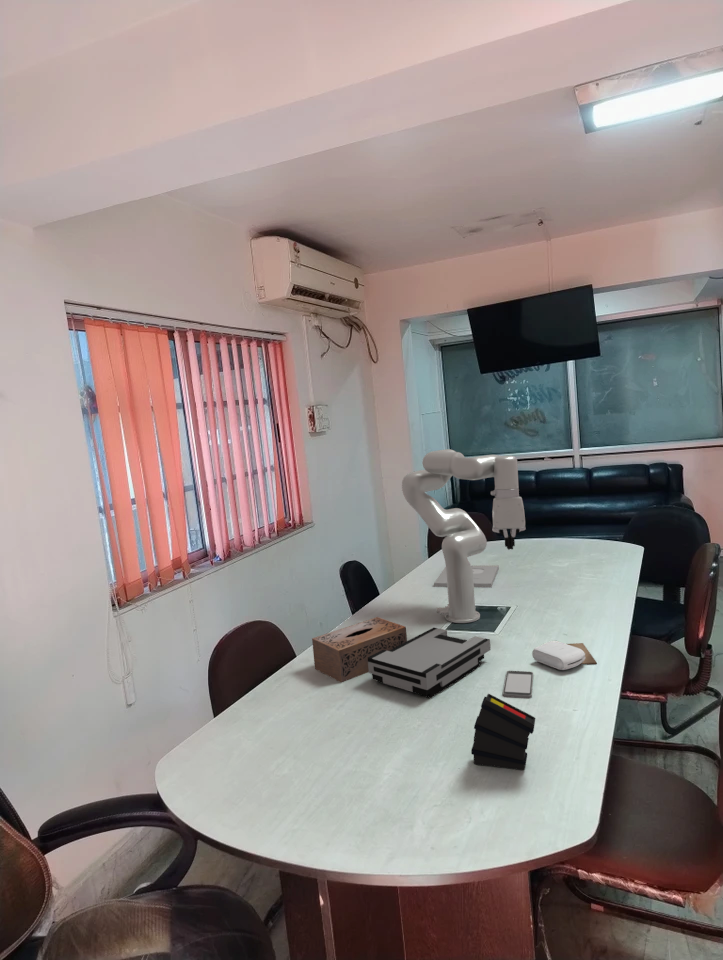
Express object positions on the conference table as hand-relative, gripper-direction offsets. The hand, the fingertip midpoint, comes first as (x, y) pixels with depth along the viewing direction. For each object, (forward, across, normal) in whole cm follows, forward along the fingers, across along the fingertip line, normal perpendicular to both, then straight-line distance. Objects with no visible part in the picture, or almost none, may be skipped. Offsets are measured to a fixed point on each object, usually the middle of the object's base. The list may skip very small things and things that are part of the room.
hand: (509, 548), depth 205 cm
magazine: (+29, -14, -77) cm, 84 cm away
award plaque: (+30, -10, +72) cm, 78 cm away
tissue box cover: (+30, -50, -19) cm, 61 cm away
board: (+29, +13, -20) cm, 38 cm away
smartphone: (+30, -5, -39) cm, 49 cm away
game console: (+30, -28, -28) cm, 50 cm away
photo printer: (+26, +5, -21) cm, 34 cm away
